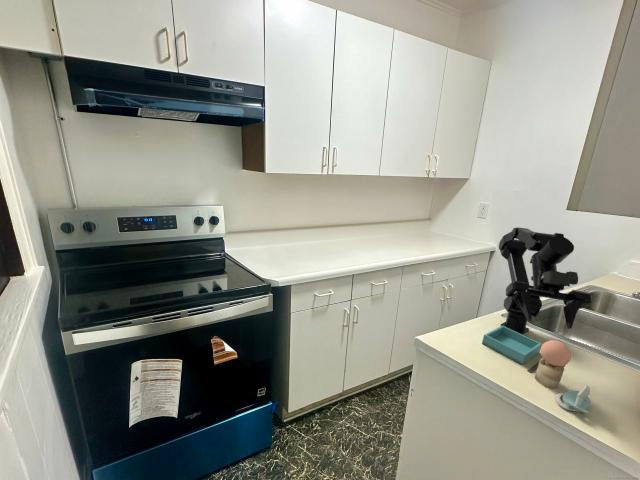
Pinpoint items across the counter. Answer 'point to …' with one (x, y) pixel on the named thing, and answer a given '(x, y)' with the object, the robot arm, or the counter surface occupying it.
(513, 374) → the counter surface
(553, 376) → the knobbed tan cylinder
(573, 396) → the pacifier
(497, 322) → the counter surface
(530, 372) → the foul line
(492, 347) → the tray
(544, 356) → the ball
